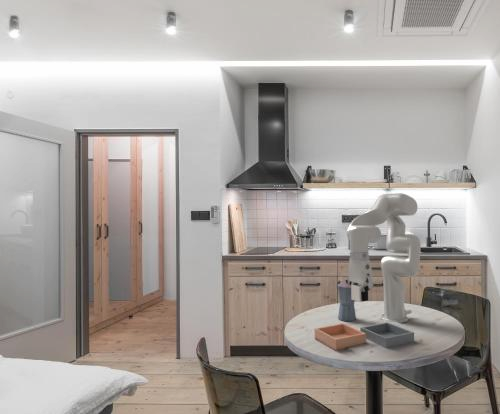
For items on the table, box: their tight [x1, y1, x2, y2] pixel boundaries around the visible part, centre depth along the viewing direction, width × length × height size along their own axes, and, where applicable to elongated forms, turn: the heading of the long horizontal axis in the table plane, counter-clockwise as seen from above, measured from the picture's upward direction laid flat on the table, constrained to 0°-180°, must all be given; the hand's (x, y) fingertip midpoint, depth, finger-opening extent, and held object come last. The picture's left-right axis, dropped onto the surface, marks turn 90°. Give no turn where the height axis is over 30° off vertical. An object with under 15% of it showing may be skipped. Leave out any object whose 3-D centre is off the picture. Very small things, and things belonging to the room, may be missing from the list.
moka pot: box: [336, 279, 357, 323], centre depth 186 cm, size 10×15×20 cm, turn 24°
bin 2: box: [359, 321, 415, 349], centre depth 155 cm, size 15×15×4 cm
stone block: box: [351, 284, 370, 303], centre depth 155 cm, size 5×5×6 cm
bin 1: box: [314, 322, 367, 352], centre depth 155 cm, size 15×15×4 cm
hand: (360, 298), depth 155 cm, fingers closed on stone block, 5 cm apart
